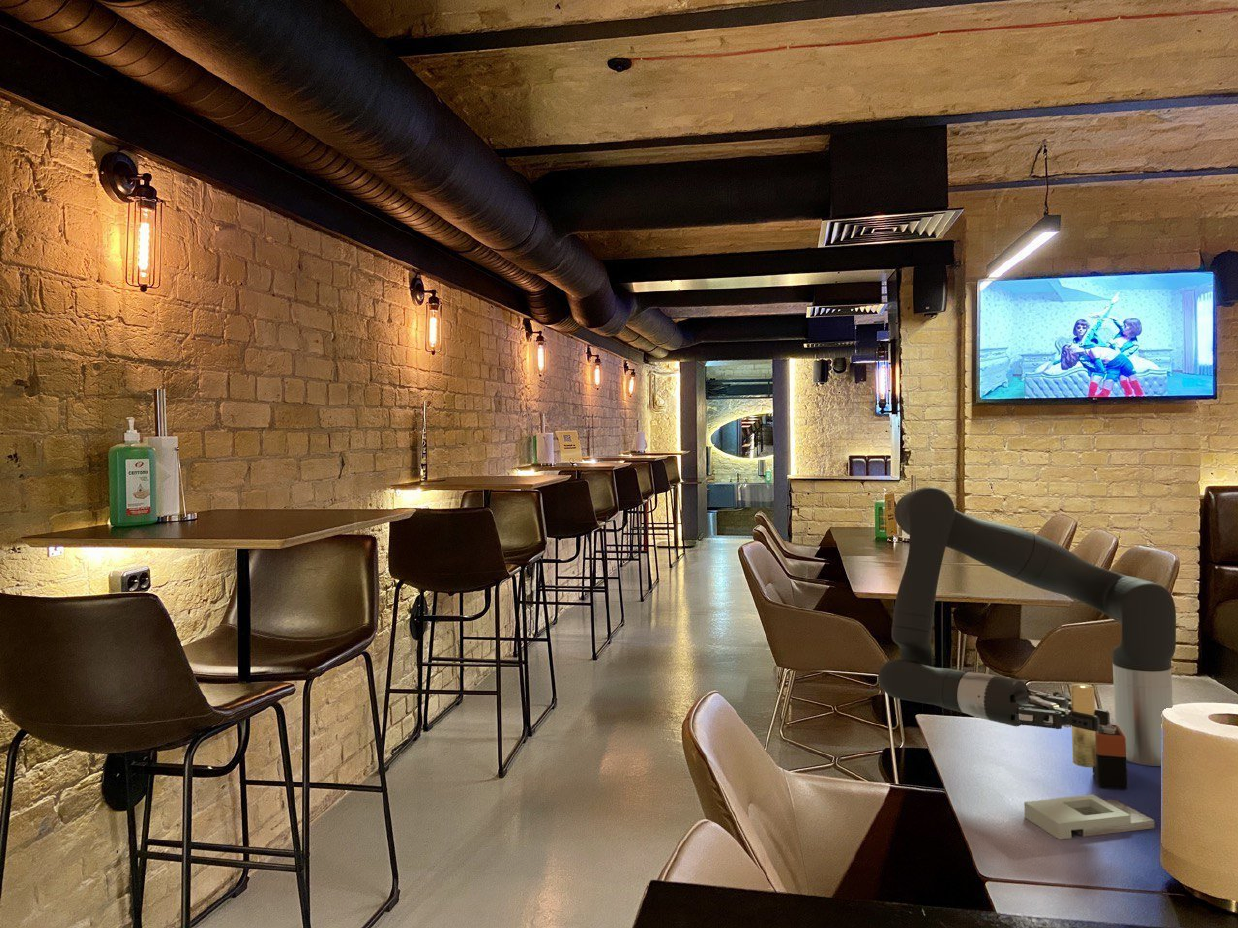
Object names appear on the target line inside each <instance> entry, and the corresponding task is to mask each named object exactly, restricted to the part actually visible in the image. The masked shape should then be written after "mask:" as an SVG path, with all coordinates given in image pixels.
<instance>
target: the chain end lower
mask: <svg viewBox="0 0 1238 928" xmlns="http://www.w3.org/2000/svg"><path fill="white" fill-rule="evenodd" d="M1104 801H1105V802H1107V803H1109V804H1111V805H1113V806H1115V807H1116V808H1118V809H1120V810H1122V811H1124V812H1126V813H1127V814H1129V815H1130V817H1131V823H1127V824H1119V825H1110V826H1102V827H1093V828H1085V829H1077V830H1073V831H1074V832H1075V833H1077V834H1079V836H1081V837H1091V836H1101V835H1109V834H1117V833H1124V832H1125V833H1126V832H1134V831H1140V830H1148V829H1151V830H1152V829H1155V820H1154V819H1152V818H1151V817H1149V816H1147V815H1145V814H1143V813H1141V812H1140V811H1137V810H1136V809H1135V808H1132V807H1130V806H1128V805H1126V804H1124V803H1123V802H1121V801H1119V800H1117V799H1115V798H1114V799H1105V800H1104ZM1074 809H1075V810H1076V811H1078V812H1080V813H1081V814H1083V815H1093V814H1102V813H1101V812H1100V811H1098V810H1096V809H1094V808H1093V807H1082V808H1074Z"/></svg>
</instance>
